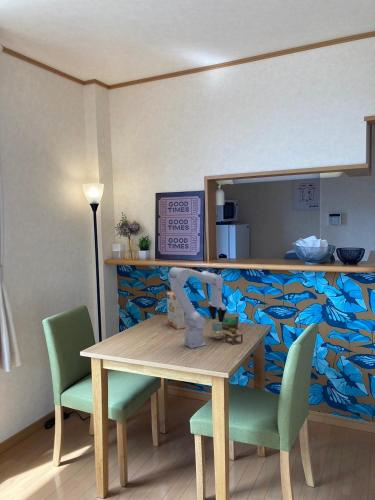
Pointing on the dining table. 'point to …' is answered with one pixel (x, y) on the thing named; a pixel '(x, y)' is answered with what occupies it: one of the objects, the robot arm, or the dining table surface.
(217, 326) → the block
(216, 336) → the balance
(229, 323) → the food container
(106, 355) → the dining table surface
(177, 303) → the cracker box
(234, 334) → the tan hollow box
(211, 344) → the dining table surface
